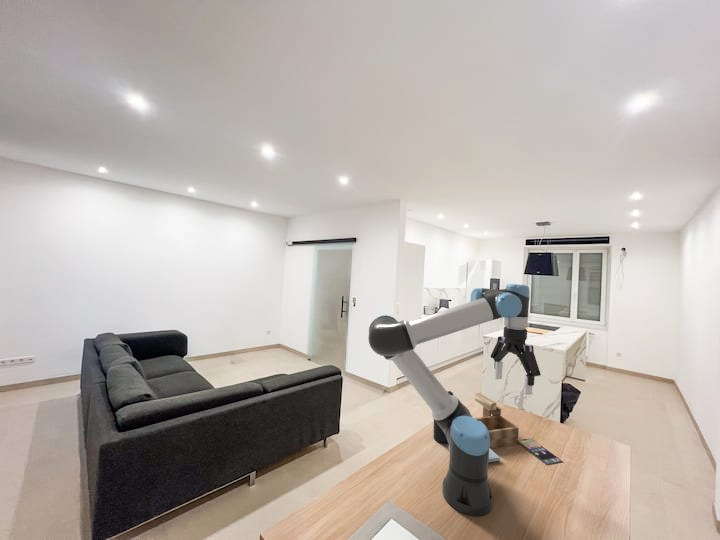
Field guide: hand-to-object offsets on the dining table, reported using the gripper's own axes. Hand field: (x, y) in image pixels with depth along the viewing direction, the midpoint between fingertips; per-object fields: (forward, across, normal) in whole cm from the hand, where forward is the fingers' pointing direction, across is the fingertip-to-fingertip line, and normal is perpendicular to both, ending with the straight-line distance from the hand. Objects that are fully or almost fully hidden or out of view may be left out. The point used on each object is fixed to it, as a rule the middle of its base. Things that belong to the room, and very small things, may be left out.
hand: (512, 386), depth 108 cm
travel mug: (+32, +24, +12) cm, 42 cm away
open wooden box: (+32, +21, -10) cm, 39 cm away
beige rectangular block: (+23, +31, -16) cm, 42 cm away
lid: (+31, +11, +6) cm, 33 cm away
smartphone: (+32, +7, -22) cm, 40 cm away
